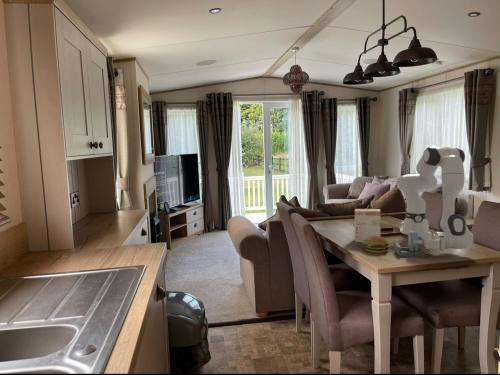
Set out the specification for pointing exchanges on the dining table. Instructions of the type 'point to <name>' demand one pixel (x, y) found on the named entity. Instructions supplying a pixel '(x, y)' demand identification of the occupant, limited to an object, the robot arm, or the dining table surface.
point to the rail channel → (407, 252)
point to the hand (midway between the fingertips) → (411, 239)
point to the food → (376, 244)
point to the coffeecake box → (366, 223)
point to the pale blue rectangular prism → (411, 236)
